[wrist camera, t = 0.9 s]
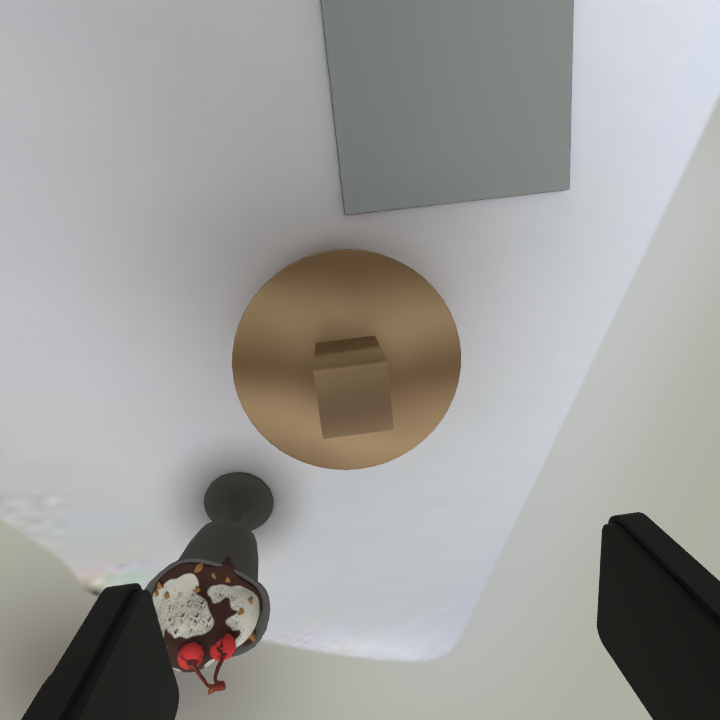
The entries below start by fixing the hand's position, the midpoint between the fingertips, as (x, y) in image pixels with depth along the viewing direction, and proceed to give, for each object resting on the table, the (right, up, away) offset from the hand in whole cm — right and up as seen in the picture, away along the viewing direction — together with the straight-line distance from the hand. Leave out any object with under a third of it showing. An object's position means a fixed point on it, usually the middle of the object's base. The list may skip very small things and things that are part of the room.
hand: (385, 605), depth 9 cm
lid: (-1, +5, +16) cm, 17 cm away
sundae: (-9, -5, +24) cm, 26 cm away
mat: (+5, +22, +17) cm, 28 cm away
